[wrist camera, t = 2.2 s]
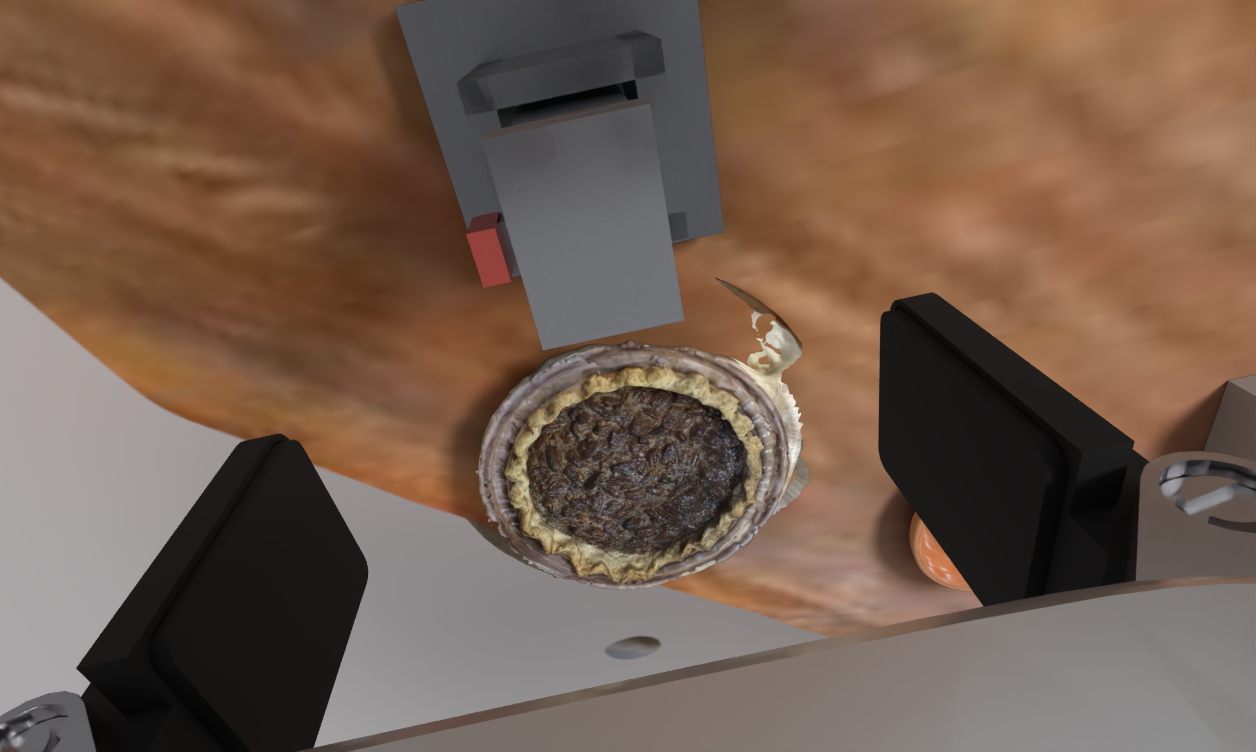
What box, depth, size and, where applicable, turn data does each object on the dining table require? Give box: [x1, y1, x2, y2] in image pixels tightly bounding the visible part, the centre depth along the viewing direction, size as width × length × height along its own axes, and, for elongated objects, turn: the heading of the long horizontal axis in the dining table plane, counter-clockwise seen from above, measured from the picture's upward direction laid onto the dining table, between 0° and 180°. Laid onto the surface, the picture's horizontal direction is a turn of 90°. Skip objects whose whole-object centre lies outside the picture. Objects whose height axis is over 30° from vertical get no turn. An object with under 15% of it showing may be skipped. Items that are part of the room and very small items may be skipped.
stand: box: [395, 0, 724, 288], centre depth 30 cm, size 14×14×11 cm
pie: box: [467, 278, 809, 590], centre depth 45 cm, size 28×27×5 cm
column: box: [481, 84, 684, 350], centre depth 26 cm, size 6×5×17 cm
